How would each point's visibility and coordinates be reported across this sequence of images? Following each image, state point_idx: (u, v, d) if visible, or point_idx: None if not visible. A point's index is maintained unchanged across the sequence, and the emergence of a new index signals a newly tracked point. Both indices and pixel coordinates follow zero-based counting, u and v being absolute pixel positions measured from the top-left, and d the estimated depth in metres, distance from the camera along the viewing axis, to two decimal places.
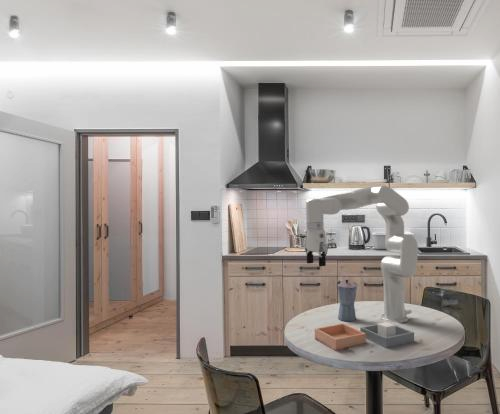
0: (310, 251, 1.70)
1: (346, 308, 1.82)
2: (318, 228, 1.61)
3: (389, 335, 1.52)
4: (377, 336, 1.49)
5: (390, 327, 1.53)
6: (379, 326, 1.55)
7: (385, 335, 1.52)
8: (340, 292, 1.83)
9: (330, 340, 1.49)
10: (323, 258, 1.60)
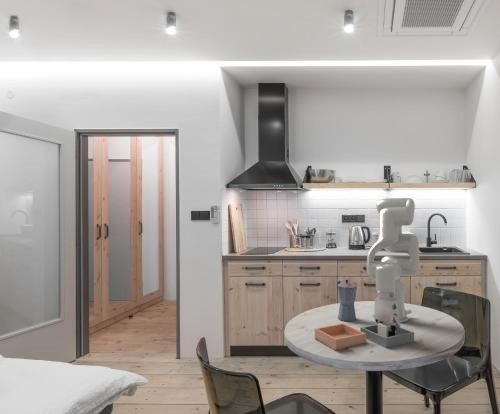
0: (381, 322, 1.58)
1: (346, 308, 1.82)
2: (390, 298, 1.51)
3: None
4: (377, 336, 1.49)
5: None
6: (379, 326, 1.55)
7: (385, 335, 1.52)
8: (340, 292, 1.83)
9: (330, 340, 1.49)
10: (393, 332, 1.51)
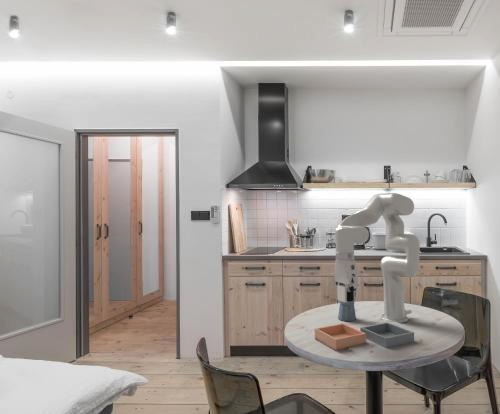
0: None
1: (346, 308, 1.82)
2: (349, 259, 1.51)
3: None
4: (377, 336, 1.49)
5: None
6: (338, 288, 1.55)
7: (344, 296, 1.52)
8: None
9: (330, 340, 1.49)
10: (351, 293, 1.51)
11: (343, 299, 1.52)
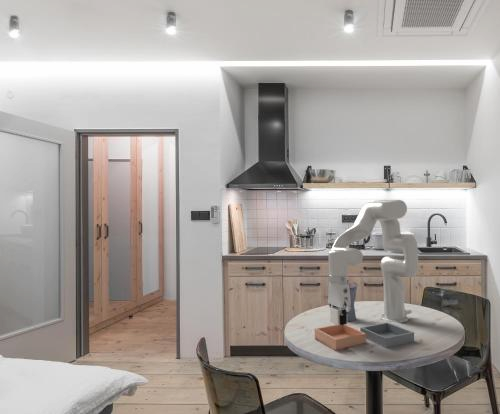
0: None
1: None
2: (342, 282, 1.51)
3: None
4: (377, 336, 1.49)
5: None
6: (331, 310, 1.55)
7: (336, 319, 1.52)
8: None
9: (330, 340, 1.49)
10: (344, 316, 1.52)
11: (336, 322, 1.53)
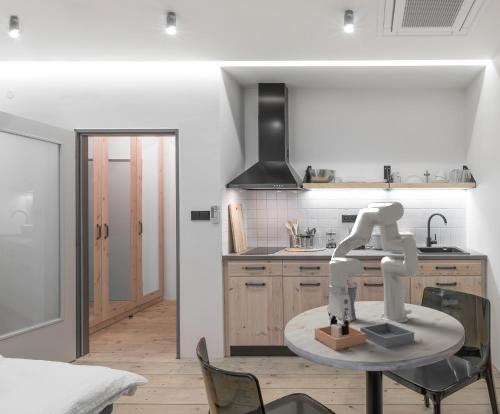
0: (334, 316, 1.60)
1: None
2: (342, 293, 1.51)
3: (342, 336, 1.53)
4: (377, 336, 1.49)
5: None
6: (332, 327, 1.55)
7: (338, 336, 1.52)
8: None
9: (330, 340, 1.49)
10: (346, 327, 1.51)
11: None
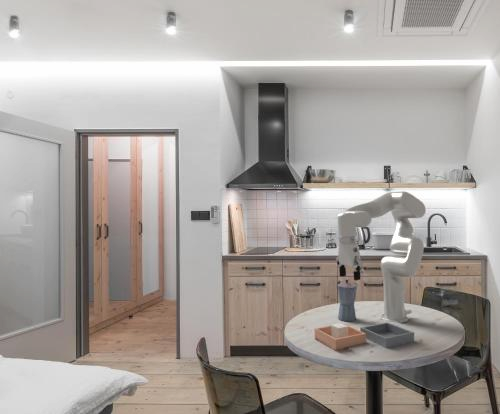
0: (342, 264, 1.70)
1: (346, 308, 1.82)
2: (352, 242, 1.61)
3: (342, 336, 1.52)
4: (377, 336, 1.49)
5: (343, 328, 1.53)
6: (332, 327, 1.55)
7: (338, 336, 1.52)
8: (340, 292, 1.83)
9: (330, 340, 1.49)
10: (358, 272, 1.60)
11: None
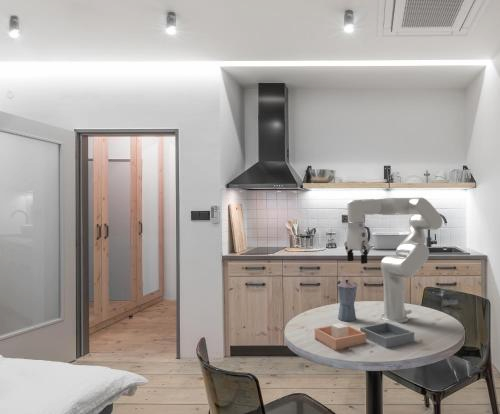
0: (350, 249, 1.79)
1: (346, 308, 1.82)
2: (360, 227, 1.70)
3: (342, 336, 1.52)
4: (377, 336, 1.49)
5: (343, 328, 1.53)
6: (332, 327, 1.55)
7: (338, 336, 1.52)
8: (340, 292, 1.83)
9: (330, 340, 1.49)
10: (365, 256, 1.69)
11: None
